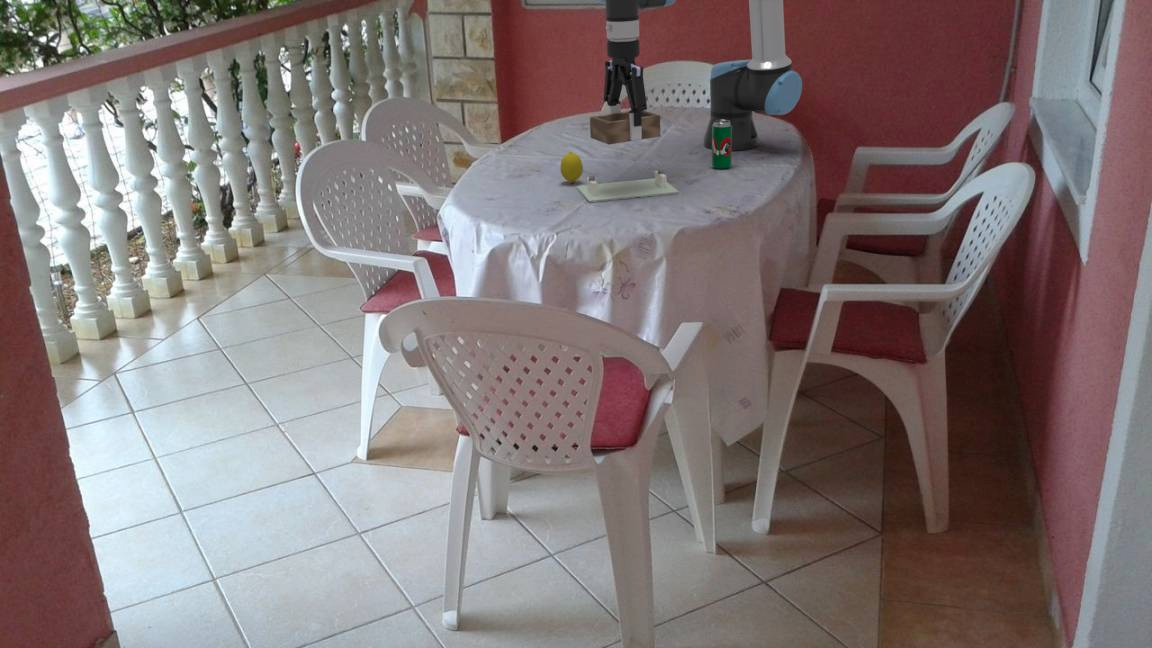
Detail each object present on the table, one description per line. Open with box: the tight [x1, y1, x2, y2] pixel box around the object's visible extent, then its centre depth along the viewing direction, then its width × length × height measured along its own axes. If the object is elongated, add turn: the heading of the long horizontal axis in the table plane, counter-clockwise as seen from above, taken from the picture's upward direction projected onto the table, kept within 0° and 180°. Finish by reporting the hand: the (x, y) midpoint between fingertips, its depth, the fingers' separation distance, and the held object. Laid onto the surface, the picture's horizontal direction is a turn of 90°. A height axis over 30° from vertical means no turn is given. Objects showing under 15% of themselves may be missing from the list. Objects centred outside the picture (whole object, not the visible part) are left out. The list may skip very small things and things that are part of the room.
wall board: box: [575, 169, 680, 203], centre depth 250 cm, size 22×14×4 cm, turn 102°
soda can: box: [711, 120, 733, 170], centre depth 266 cm, size 5×5×12 cm
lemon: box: [560, 151, 584, 184], centre depth 258 cm, size 6×6×8 cm
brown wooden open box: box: [589, 110, 661, 145], centre depth 245 cm, size 14×9×5 cm, turn 117°
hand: (625, 136), depth 246 cm, fingers closed on brown wooden open box, 9 cm apart
